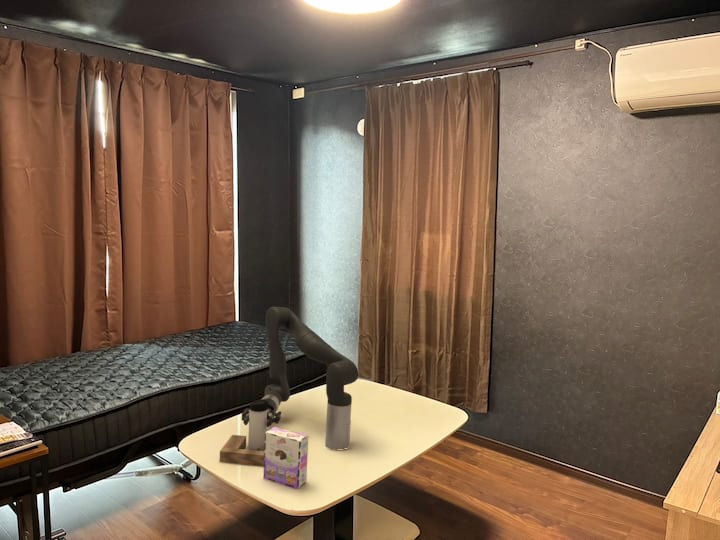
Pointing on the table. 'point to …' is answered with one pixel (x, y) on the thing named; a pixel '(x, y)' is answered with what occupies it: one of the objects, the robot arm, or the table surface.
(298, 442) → the candy box
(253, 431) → the travel mug
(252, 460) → the wooden u-shaped block
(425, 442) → the table surface
